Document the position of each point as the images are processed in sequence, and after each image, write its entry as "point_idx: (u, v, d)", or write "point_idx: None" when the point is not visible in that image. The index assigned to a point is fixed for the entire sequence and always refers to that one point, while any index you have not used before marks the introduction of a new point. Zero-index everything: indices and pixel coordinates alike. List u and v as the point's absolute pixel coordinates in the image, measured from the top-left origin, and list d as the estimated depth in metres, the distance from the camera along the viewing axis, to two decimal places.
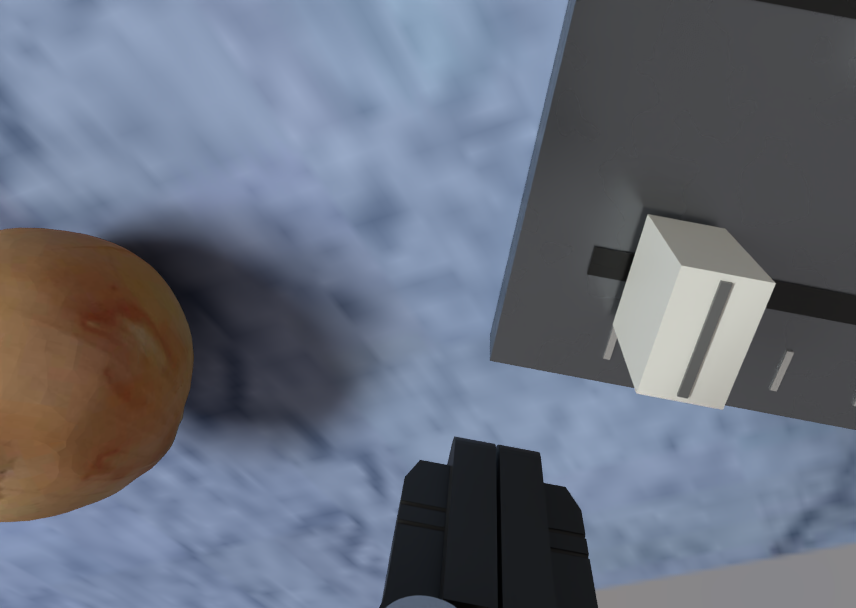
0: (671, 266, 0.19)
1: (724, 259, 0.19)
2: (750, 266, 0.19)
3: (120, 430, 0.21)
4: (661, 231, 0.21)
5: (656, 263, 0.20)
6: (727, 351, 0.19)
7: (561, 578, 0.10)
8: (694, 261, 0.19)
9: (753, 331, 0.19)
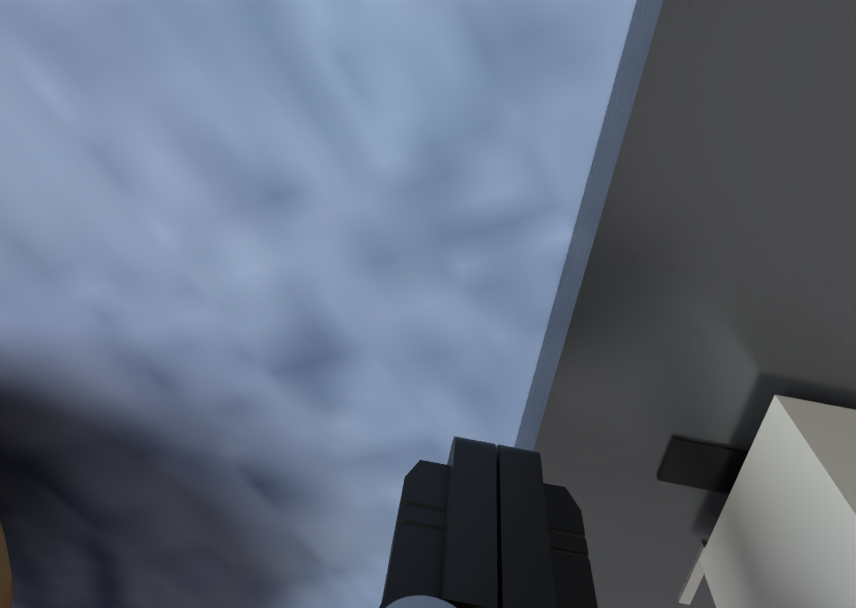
0: None
1: None
2: None
3: None
4: (818, 452, 0.11)
5: (811, 521, 0.11)
6: None
7: (561, 578, 0.10)
8: None
9: None
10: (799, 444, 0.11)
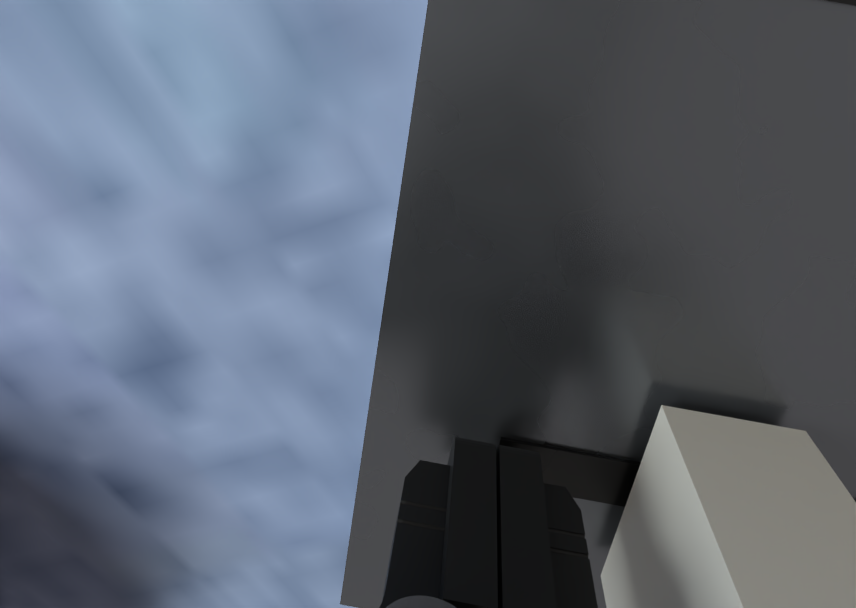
0: (719, 587, 0.09)
1: (829, 561, 0.09)
2: None
3: None
4: (690, 466, 0.11)
5: (681, 537, 0.10)
6: None
7: (561, 578, 0.10)
8: (772, 586, 0.09)
9: None
10: (676, 457, 0.11)
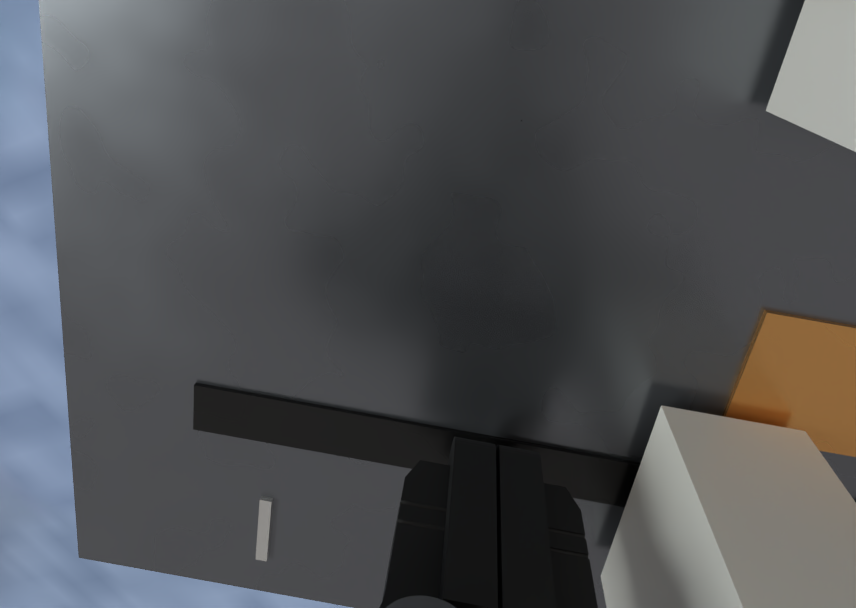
0: (719, 587, 0.09)
1: (829, 561, 0.09)
2: None
3: None
4: (690, 466, 0.11)
5: (681, 537, 0.10)
6: None
7: (561, 578, 0.10)
8: (770, 585, 0.09)
9: None
10: (676, 457, 0.11)
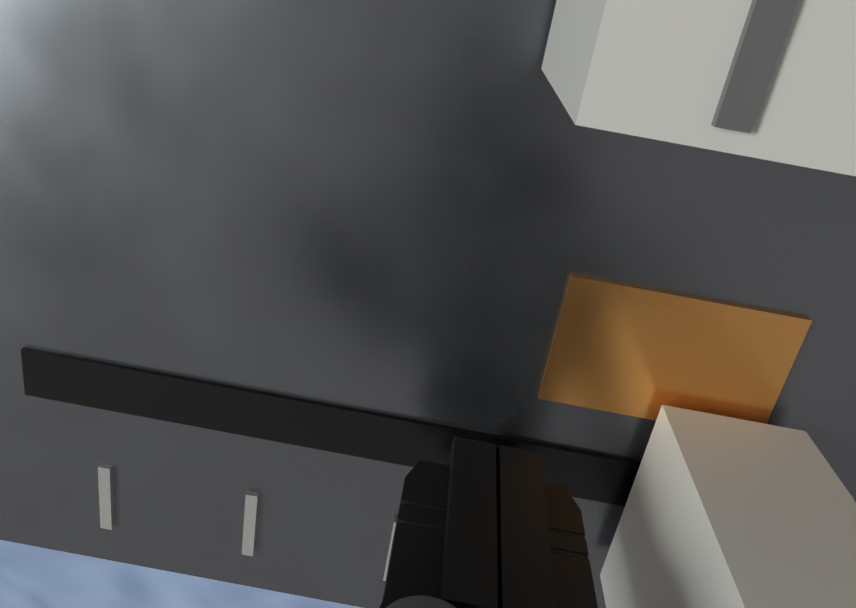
0: (720, 586, 0.09)
1: (830, 559, 0.09)
2: None
3: None
4: (692, 466, 0.11)
5: (682, 537, 0.10)
6: None
7: (561, 578, 0.10)
8: (772, 585, 0.09)
9: None
10: (677, 456, 0.11)
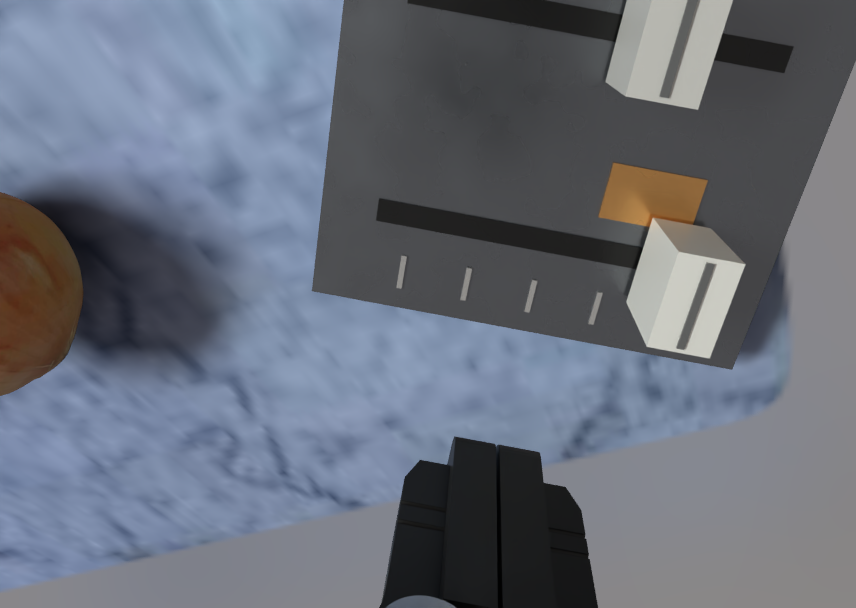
0: (671, 253, 0.27)
1: (709, 248, 0.27)
2: (728, 253, 0.27)
3: (11, 330, 0.28)
4: (663, 229, 0.28)
5: (659, 252, 0.28)
6: (711, 314, 0.27)
7: (561, 578, 0.10)
8: (687, 249, 0.26)
9: (730, 299, 0.26)
10: (658, 230, 0.29)
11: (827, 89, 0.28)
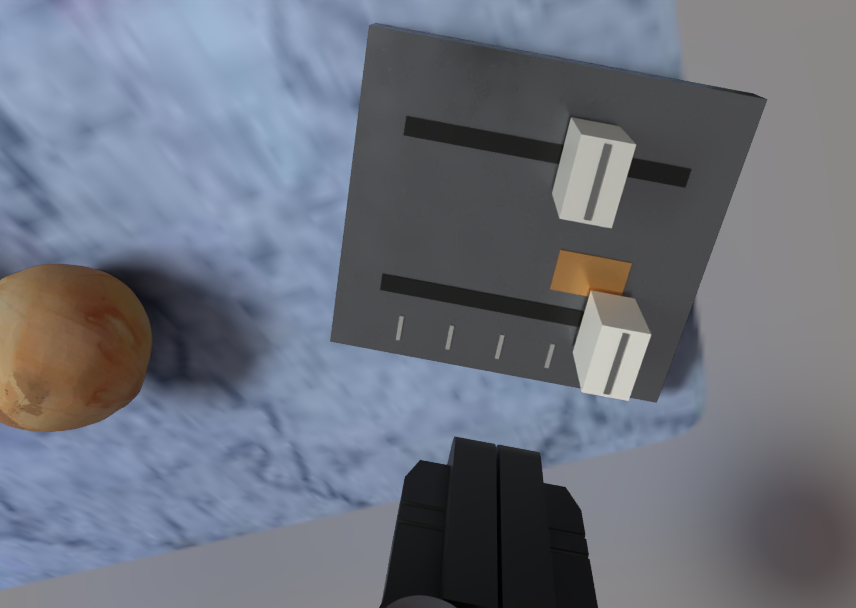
0: (598, 324, 0.36)
1: (627, 320, 0.36)
2: (641, 324, 0.36)
3: (107, 377, 0.38)
4: (596, 302, 0.38)
5: (592, 321, 0.37)
6: (628, 369, 0.36)
7: (561, 578, 0.10)
8: (610, 322, 0.36)
9: (641, 359, 0.36)
10: (593, 302, 0.38)
11: (718, 199, 0.37)
